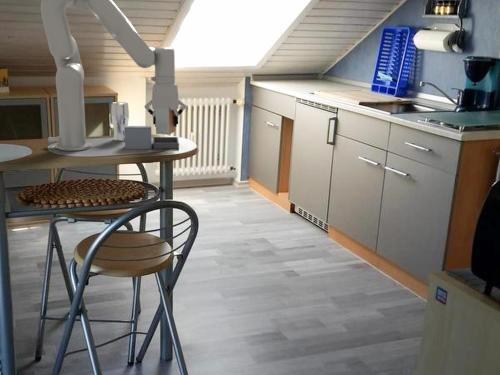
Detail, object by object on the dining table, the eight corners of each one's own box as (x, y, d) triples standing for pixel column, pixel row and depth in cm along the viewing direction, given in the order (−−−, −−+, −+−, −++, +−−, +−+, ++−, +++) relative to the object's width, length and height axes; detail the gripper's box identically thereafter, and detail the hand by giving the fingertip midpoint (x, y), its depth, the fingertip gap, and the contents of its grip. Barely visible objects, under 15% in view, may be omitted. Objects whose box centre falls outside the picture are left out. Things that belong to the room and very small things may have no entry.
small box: (169, 135, 232) (168, 107, 229) (155, 134, 233) (155, 107, 230) (175, 131, 239) (175, 105, 236) (162, 130, 240) (162, 104, 237)
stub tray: (152, 149, 231) (152, 143, 230) (152, 143, 242) (152, 137, 242) (178, 149, 232) (178, 143, 232) (177, 143, 244) (177, 137, 243)
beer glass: (130, 138, 250) (129, 102, 246) (128, 141, 244) (127, 104, 240) (114, 137, 250) (112, 101, 246) (110, 141, 243) (109, 104, 239)
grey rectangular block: (125, 148, 231) (124, 127, 228) (125, 146, 235) (125, 125, 233) (151, 148, 232) (151, 127, 230) (151, 146, 237) (151, 125, 235)
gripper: (141, 81, 225) (143, 128, 230) (188, 81, 228) (188, 127, 233) (142, 79, 232) (143, 124, 237) (187, 79, 235) (187, 124, 240)
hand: (165, 125), depth 235 cm, fingers closed on small box, 7 cm apart
